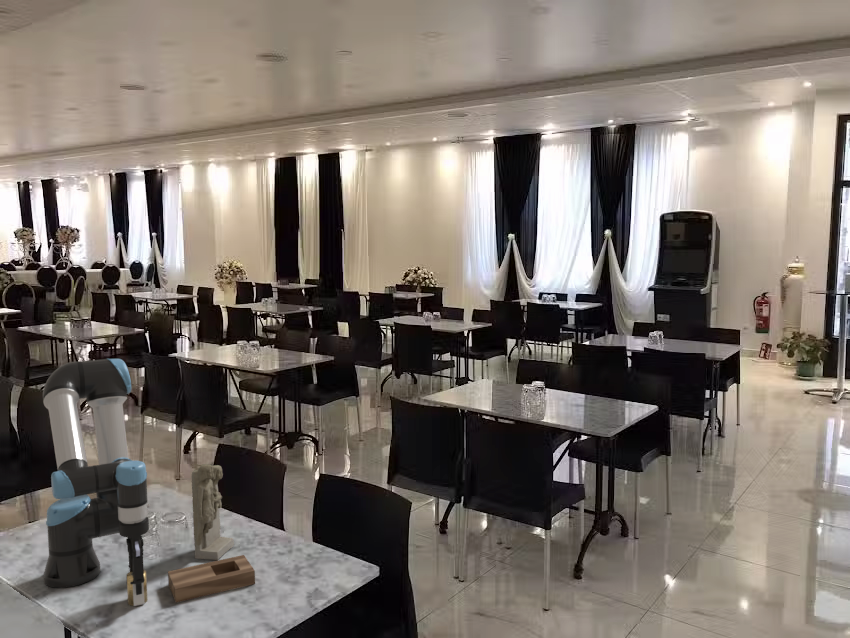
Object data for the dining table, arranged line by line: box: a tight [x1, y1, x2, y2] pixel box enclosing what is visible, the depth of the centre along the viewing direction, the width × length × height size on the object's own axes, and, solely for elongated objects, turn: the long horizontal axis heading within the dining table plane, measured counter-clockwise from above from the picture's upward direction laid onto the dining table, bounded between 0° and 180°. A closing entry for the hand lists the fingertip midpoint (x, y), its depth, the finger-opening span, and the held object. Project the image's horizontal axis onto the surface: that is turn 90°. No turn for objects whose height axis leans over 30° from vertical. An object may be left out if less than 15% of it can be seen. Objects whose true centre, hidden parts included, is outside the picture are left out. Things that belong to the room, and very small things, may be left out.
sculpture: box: [191, 463, 235, 561], centre depth 222 cm, size 15×8×30 cm, turn 168°
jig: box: [167, 554, 256, 604], centre depth 203 cm, size 12×22×4 cm, turn 119°
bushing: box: [126, 569, 148, 607], centre depth 193 cm, size 5×5×8 cm
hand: (137, 599), depth 193 cm, fingers closed on bushing, 5 cm apart
